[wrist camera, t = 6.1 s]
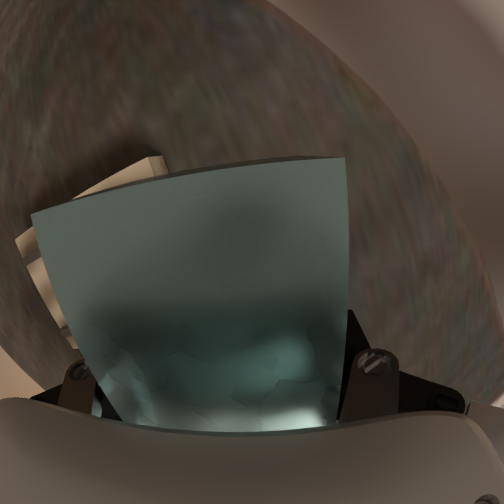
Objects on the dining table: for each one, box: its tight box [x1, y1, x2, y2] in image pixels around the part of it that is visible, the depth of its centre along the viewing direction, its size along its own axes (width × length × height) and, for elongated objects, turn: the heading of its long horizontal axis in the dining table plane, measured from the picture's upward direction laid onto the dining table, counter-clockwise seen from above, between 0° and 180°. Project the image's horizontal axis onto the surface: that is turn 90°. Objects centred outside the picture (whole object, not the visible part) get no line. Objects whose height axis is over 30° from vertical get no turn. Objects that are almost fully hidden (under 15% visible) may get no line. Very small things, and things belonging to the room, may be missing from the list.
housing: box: [31, 156, 349, 432], centre depth 9 cm, size 12×6×6 cm, turn 7°
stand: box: [15, 156, 169, 349], centre depth 29 cm, size 18×24×5 cm
